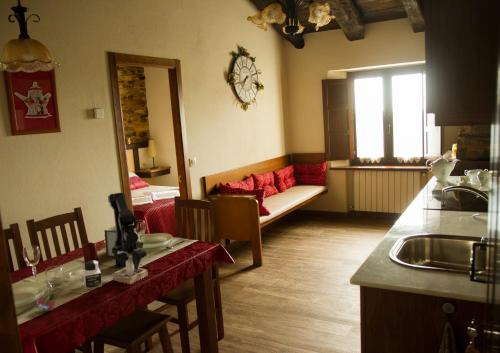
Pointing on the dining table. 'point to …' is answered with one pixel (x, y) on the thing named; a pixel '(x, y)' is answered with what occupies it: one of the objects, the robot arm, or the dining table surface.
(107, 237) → the protein box
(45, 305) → the geometric puzzle
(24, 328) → the dining table surface
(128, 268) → the peg
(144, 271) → the crate
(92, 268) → the medicine bottle
